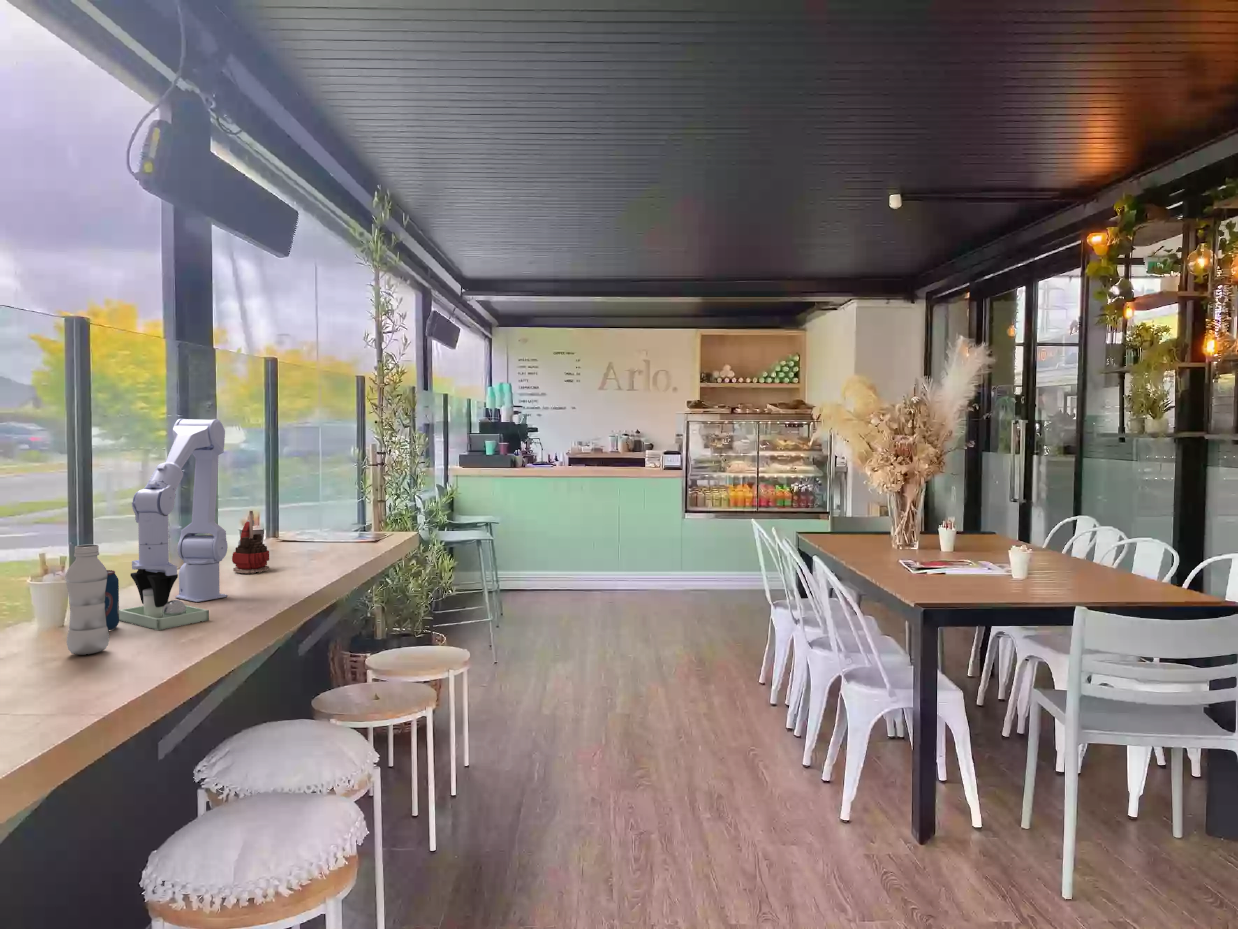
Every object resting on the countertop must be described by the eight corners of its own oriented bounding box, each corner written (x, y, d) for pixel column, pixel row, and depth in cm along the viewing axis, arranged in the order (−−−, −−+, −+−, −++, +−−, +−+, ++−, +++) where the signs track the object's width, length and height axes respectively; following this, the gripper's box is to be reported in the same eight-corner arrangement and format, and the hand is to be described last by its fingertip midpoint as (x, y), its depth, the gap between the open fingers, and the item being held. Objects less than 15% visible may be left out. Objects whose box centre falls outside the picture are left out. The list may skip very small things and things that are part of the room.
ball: (159, 624, 172) (156, 602, 172) (180, 618, 176) (177, 598, 176) (170, 624, 170) (167, 602, 170) (192, 618, 174) (188, 597, 173)
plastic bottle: (118, 650, 151) (116, 544, 150) (83, 660, 144) (81, 549, 144) (92, 647, 153) (91, 542, 152) (57, 656, 147) (56, 547, 146)
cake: (258, 575, 230) (258, 512, 230) (226, 575, 230) (226, 512, 230) (275, 569, 241) (275, 509, 240) (244, 568, 241) (243, 508, 240)
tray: (117, 620, 175) (117, 610, 175) (168, 610, 184) (168, 601, 184) (158, 630, 166) (157, 619, 166) (209, 620, 176) (208, 610, 176)
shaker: (140, 617, 177) (138, 590, 176) (160, 613, 180) (159, 586, 180) (149, 619, 174) (148, 592, 174) (170, 615, 178) (169, 588, 177)
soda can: (77, 635, 161) (76, 576, 161) (81, 628, 168) (80, 570, 167) (117, 632, 165) (116, 573, 164) (120, 624, 171) (119, 568, 170)
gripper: (117, 542, 177) (117, 604, 177) (153, 548, 169) (153, 612, 170) (149, 539, 183) (150, 598, 183) (186, 544, 175) (186, 606, 176)
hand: (154, 604), depth 177 cm, fingers open, 5 cm apart
